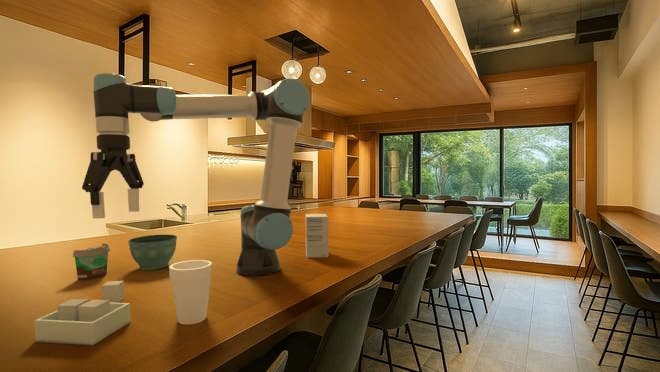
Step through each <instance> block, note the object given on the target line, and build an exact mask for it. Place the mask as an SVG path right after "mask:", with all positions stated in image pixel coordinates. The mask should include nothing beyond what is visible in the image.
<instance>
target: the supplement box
mask: <svg viewBox="0 0 660 372" xmlns="http://www.w3.org/2000/svg"><path fill="white" fill-rule="evenodd" d="M304 221H305V237H304V238H305V257H306V259H308V258H311V259H312V258H329V216H328V215H327V213H307V214H305V219H304Z"/></svg>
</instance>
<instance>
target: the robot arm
mask: <svg viewBox="0 0 660 372" xmlns="http://www.w3.org/2000/svg"><path fill="white" fill-rule="evenodd" d="M92 93H93V103H94V113H95V114H94V115H95V116H94V117H95V130H96V131H95V132H96V133H97V136H96V148H97V150H100V151H91V152H90V162H89V164H88V166H87V167H88V168H87V170H86V173H85V176H84V179H83V180H84V181H83V183H82V187H81V189H82V190H83V191H85V193H89V196H90V197H89V198H90V199H89V200H90V205H91V213H92V219H106V216H105V215H106V212H105V196H104V191H102V189H103V187H104V185H105V183H106V182H107V180H108V177H109V176H110V174H111V172H113V171H117V172H119V173H120V175H121V176H122V178H123V179H124V181H125V182H126V184H127V185H128V187H129V188H127V202H128V203H127V204H128V213H130V212H131V213H132V212H133V213H134V212H135V213H136V212H140V191H139V189H143V186H144V185H145V182H144V180H143V177H142V174H141V172H140V169H139V166H138V164H137V161H136V155H135V153H128V152H127V151H128V150H130V149H131V139H130V136H129V134H130V120H129V114H131V113H132V114H140V115H141V117H142V118H143V119H144V120H146V121H149V122H154V123H155V122H159V121H163V120H165V121H170V120H190V119H191V120H194V119H195V120H196V119H197V120H198V119H204V120H205V119H234V118H235V119H236V118H237V119H238V118H242V119H243V118H249V119H251V120H252V121H266V122H267V123H268V125H269V132H268V139H267V147H266V154H265V162H264V169H263V177H262V184H261V191H260V192H261V193H260V199H259V200H258V201H257V202H255V203H254V205H245V206H243V207H242V208H241V209H240V216H239V217H240V238H241V239H240V241H241V242H240V243H241V249H240V253H239V256H238V259H237V263H236V273H237V274H239V275H243V276H254V277H255V276H264V275H265V276H266V275H271V274H275V273H276V272H279V271H280V269H281V263H280V260H279V257H278V253H277V250H280V249H282V248H283V247H285V246H286V245H288V243H289V242H290V241H291V239H292V238H293V233H294V225H293V223H292V220H291V211H292V208H291V206H290V205H289V204H288V198H289V191H290V183H291V182H290V181H291V174H292V167H293V159H294V152H295V144H296V138H297V137H296V136H297V130H298V129H299V128H301V126H302V125H303V121H304V113H305V112H306V111H307V110H308V109H309V106H310V103H311V97H310V92H309V89H308V88H307V87H306V86H305V84H304V83H303V82H301V81H300V80H298V79H295V78H284V79H281V80H279V81H277V82H276V83H275V85H273V86H271V87H270V88H268V89H265V90H262V91H250V93H249V94H177V93H176V90H175V89H174V88H173V87H167V86H164V85H163V86H162V85H160V86H157V85H144V84H143V85H141V84H140V85H139V84H131V83H128V82H127V78H126V77H125V76H123V75H121V74H115V73H109V72H108V73H107V72H102V73H98V74H96V75H94V77H93V92H92Z"/></svg>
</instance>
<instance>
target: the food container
mask: <svg viewBox="0 0 660 372" xmlns="http://www.w3.org/2000/svg"><path fill="white" fill-rule="evenodd" d="M110 252H111V248H110V245H109V244H108V243H102V244H101V246H98V247H97V246H96V247H89V248H87V249H81V250H80V249H79V250H78V249H77V250H76V249H74V250H73V253H72V257H73V258H74V261H75V269H76V277H77V281H88V280H89V281H90V280H95V279H98V278H102V277H105V276H107V273H108V263H109V262H108V261H109V259H108V258H109V253H110Z"/></svg>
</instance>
